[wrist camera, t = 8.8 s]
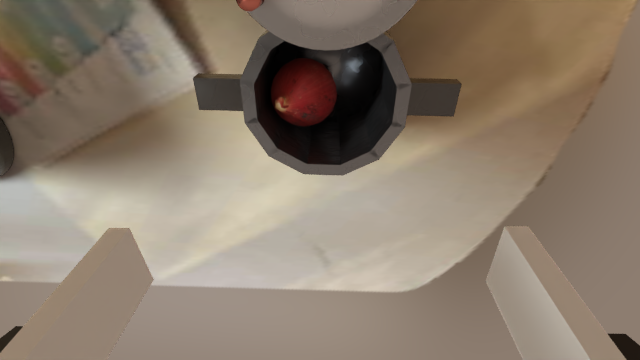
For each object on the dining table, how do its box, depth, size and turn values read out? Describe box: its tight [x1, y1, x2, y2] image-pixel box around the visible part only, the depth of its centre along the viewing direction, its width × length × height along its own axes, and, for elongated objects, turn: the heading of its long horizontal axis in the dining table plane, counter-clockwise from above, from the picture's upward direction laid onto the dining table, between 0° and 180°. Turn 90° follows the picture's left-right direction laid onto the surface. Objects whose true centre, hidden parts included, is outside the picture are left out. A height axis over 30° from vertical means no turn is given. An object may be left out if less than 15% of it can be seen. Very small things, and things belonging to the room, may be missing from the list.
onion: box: [271, 58, 337, 127], centre depth 29 cm, size 6×6×8 cm
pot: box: [193, 30, 461, 175], centre depth 29 cm, size 21×12×10 cm, turn 89°
